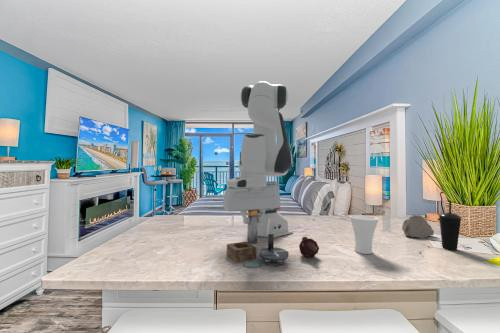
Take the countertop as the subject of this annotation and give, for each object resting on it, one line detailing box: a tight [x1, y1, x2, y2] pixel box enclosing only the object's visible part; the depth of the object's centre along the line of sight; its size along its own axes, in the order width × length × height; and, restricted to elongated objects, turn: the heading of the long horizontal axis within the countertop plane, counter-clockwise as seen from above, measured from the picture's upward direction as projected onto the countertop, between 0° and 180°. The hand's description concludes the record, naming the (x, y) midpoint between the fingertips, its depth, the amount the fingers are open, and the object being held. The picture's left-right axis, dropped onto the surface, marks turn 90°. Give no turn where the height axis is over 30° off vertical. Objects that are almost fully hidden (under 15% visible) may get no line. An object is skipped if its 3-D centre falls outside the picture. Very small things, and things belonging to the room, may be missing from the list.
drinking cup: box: [438, 200, 463, 252], centre depth 108 cm, size 8×8×20 cm
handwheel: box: [259, 234, 290, 261], centre depth 90 cm, size 10×10×6 cm
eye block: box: [226, 240, 257, 263], centre depth 95 cm, size 8×8×4 cm
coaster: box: [243, 259, 261, 269], centre depth 87 cm, size 6×6×1 cm
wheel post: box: [264, 259, 284, 266], centre depth 90 cm, size 6×6×1 cm
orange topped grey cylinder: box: [246, 210, 259, 245], centre depth 87 cm, size 3×3×11 cm
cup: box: [349, 214, 380, 255], centre depth 103 cm, size 10×10×14 cm
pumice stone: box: [401, 214, 435, 239], centre depth 128 cm, size 15×8×10 cm, turn 97°
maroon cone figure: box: [299, 236, 320, 258], centre depth 96 cm, size 7×7×15 cm
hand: (252, 222), depth 87 cm, fingers closed on orange topped grey cylinder, 3 cm apart
